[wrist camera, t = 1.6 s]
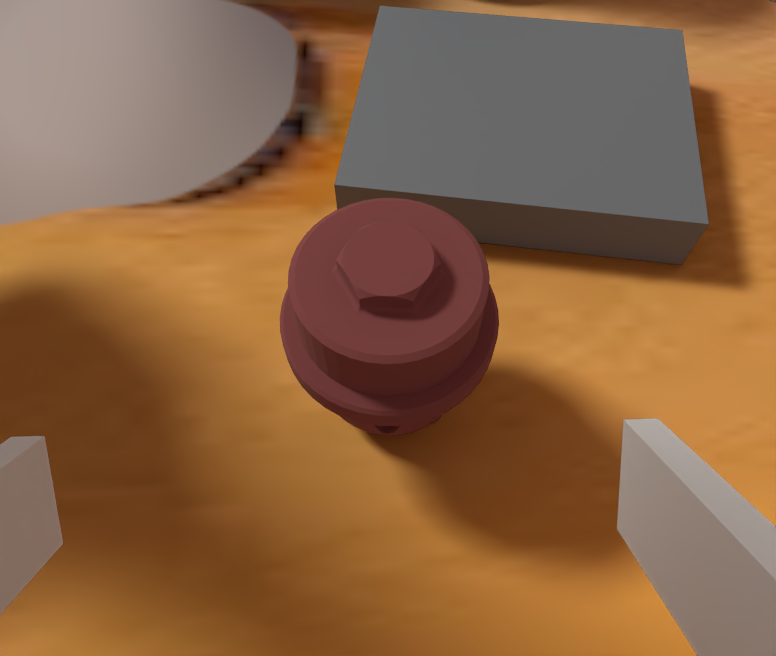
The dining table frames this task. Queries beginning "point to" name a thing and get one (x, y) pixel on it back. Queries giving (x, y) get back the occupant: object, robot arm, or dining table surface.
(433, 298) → the mechanical component
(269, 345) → the dining table surface
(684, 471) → the robot arm
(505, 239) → the plate
